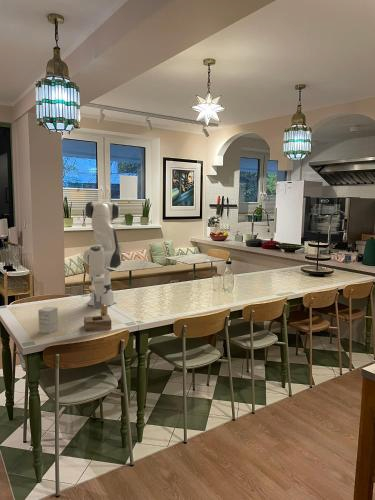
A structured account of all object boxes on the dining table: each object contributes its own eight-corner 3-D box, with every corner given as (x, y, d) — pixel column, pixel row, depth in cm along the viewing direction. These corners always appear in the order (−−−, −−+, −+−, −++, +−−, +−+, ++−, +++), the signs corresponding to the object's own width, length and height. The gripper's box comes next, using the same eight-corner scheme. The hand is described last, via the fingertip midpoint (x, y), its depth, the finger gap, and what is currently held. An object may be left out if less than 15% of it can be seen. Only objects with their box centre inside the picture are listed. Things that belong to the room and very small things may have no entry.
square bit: (93, 307, 214) (93, 290, 213) (100, 306, 216) (100, 289, 214) (94, 309, 211) (93, 291, 209) (101, 308, 212) (101, 291, 211)
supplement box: (47, 327, 212) (46, 306, 211) (58, 329, 210) (58, 307, 208) (38, 332, 205) (37, 309, 204) (50, 333, 203) (49, 311, 201)
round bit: (100, 320, 227) (100, 304, 226) (107, 319, 228) (106, 303, 227) (101, 322, 223) (100, 305, 222) (108, 321, 225) (107, 305, 223)
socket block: (84, 325, 217) (83, 317, 216) (108, 323, 222) (108, 315, 221) (85, 331, 208) (85, 322, 207) (111, 328, 213) (111, 320, 212)
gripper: (89, 272, 219) (89, 296, 221) (93, 279, 200) (93, 305, 202) (100, 272, 222) (100, 295, 223) (105, 279, 202) (105, 304, 204)
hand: (97, 300), depth 213 cm, fingers closed on square bit, 4 cm apart
